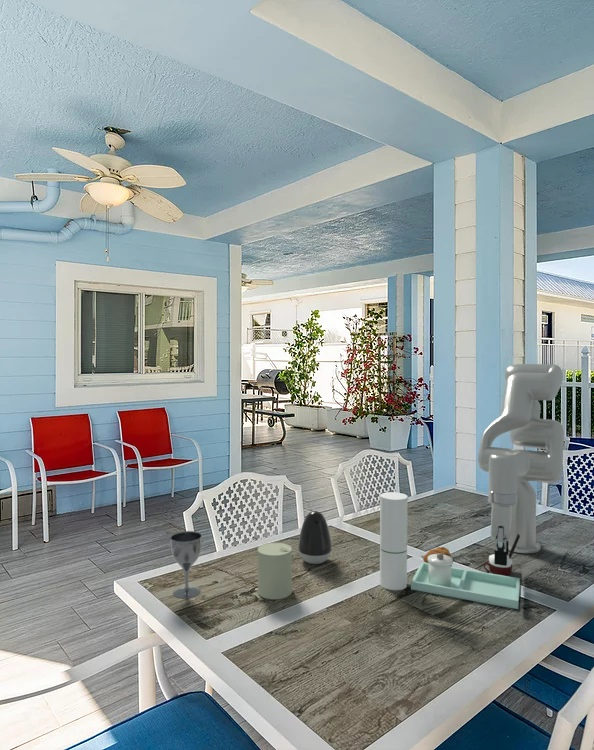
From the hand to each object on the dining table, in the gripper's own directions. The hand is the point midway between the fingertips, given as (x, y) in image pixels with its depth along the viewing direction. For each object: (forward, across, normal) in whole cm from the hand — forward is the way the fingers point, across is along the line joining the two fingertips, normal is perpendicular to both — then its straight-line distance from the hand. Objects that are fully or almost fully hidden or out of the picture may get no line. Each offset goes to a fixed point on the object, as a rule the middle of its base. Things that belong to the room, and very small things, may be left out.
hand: (501, 558), depth 148 cm
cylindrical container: (+5, +20, -26) cm, 33 cm away
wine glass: (+5, +45, -75) cm, 88 cm away
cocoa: (+5, 0, 0) cm, 5 cm away
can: (+5, +35, -54) cm, 65 cm away
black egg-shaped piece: (+5, +12, -52) cm, 54 cm away
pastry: (+5, -3, -18) cm, 19 cm away
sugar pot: (+4, +14, -15) cm, 21 cm away
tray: (+5, +14, -8) cm, 17 cm away
